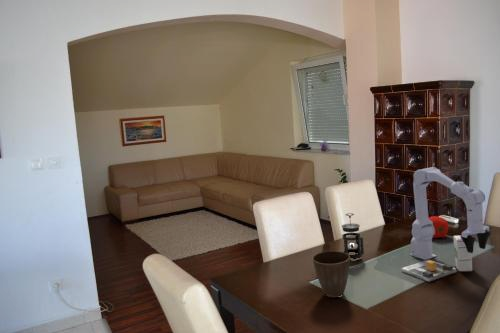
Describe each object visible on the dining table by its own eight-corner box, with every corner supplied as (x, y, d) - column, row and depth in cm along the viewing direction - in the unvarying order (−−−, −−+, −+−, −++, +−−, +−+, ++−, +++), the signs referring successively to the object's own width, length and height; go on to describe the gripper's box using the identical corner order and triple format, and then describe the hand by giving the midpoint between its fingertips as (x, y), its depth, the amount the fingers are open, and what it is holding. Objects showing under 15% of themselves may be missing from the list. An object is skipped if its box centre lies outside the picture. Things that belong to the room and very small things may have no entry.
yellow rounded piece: (426, 269, 181) (426, 261, 181) (430, 267, 182) (430, 260, 182) (432, 271, 178) (431, 263, 178) (436, 269, 179) (435, 262, 179)
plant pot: (345, 305, 159) (342, 265, 157) (310, 299, 167) (306, 261, 165) (357, 289, 171) (354, 252, 170) (323, 285, 179) (320, 249, 178)
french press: (338, 258, 210) (335, 214, 207) (350, 253, 215) (347, 210, 213) (357, 263, 200) (353, 217, 198) (369, 258, 206) (366, 213, 203)
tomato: (428, 238, 235) (438, 246, 222) (415, 222, 234) (424, 228, 221) (447, 225, 234) (457, 232, 220) (433, 208, 233) (443, 214, 219)
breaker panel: (401, 271, 186) (401, 265, 185) (428, 262, 193) (428, 256, 192) (428, 281, 172) (428, 274, 172) (456, 271, 179) (456, 265, 179)
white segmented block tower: (472, 271, 178) (471, 238, 177) (458, 271, 179) (456, 239, 178) (468, 266, 184) (467, 234, 182) (454, 266, 185) (453, 235, 183)
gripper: (471, 224, 166) (473, 256, 168) (495, 217, 172) (496, 248, 174) (456, 221, 173) (458, 252, 174) (479, 214, 179) (481, 244, 180)
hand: (476, 250), depth 174 cm, fingers open, 7 cm apart
